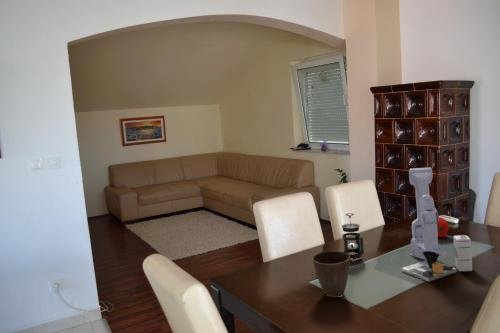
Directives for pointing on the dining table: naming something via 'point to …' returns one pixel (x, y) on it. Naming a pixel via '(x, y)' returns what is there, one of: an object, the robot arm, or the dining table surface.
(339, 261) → the plant pot
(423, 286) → the dining table surface
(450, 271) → the breaker panel
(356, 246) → the french press
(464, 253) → the white segmented block tower
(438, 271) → the yellow rounded piece
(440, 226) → the tomato
